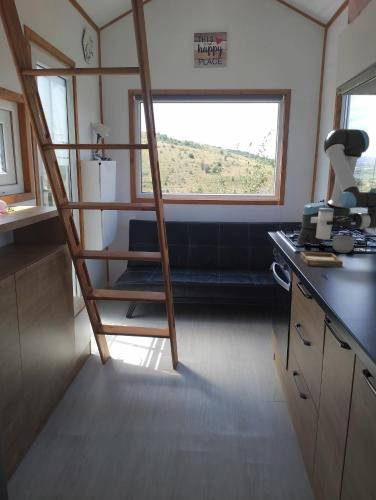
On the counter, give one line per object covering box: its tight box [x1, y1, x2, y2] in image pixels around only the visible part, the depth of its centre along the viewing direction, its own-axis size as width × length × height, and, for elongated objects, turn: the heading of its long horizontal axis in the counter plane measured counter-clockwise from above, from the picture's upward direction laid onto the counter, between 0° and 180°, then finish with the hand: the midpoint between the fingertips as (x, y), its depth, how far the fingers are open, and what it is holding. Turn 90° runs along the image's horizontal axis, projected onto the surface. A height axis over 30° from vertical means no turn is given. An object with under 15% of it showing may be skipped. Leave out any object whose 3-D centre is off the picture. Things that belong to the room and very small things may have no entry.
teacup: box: [332, 234, 355, 254], centre depth 211 cm, size 14×11×8 cm
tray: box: [299, 251, 344, 268], centre depth 189 cm, size 16×16×2 cm
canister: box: [316, 208, 334, 240], centre depth 184 cm, size 7×7×14 cm
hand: (315, 221), depth 183 cm, fingers closed on canister, 6 cm apart
